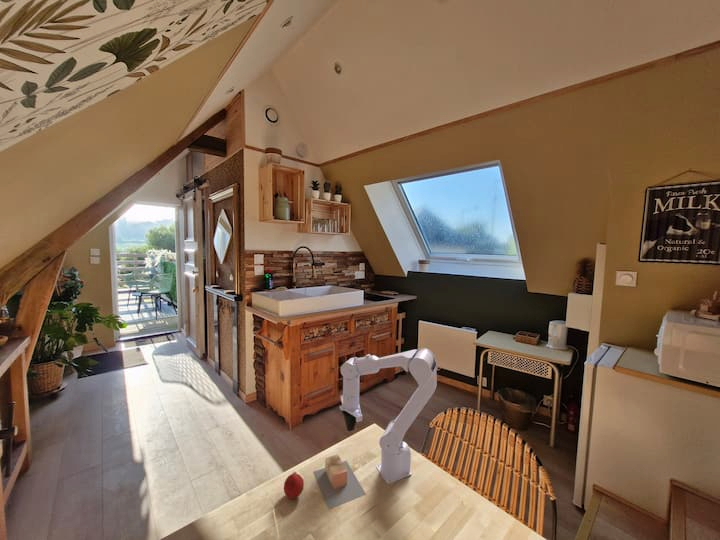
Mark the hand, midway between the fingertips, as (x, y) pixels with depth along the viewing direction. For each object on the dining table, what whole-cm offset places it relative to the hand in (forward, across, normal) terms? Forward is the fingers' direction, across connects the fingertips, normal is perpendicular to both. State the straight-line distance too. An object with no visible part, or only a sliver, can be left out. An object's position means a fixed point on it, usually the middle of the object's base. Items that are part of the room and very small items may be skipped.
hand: (350, 429), depth 103 cm
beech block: (+8, +11, -8) cm, 15 cm away
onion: (+11, +8, -22) cm, 26 cm away
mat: (+10, +9, -8) cm, 16 cm away
